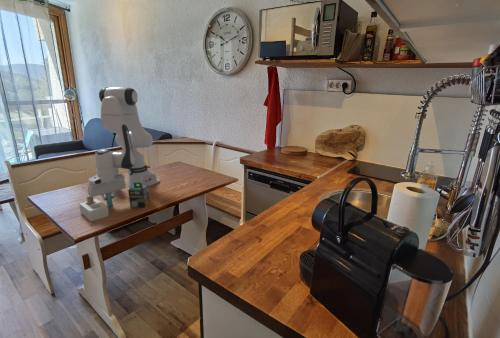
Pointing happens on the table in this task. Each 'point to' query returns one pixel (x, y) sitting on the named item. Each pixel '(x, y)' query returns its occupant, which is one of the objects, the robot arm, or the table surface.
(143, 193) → the chalk box
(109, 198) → the teal dowel
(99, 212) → the hole block
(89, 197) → the beech dowel
